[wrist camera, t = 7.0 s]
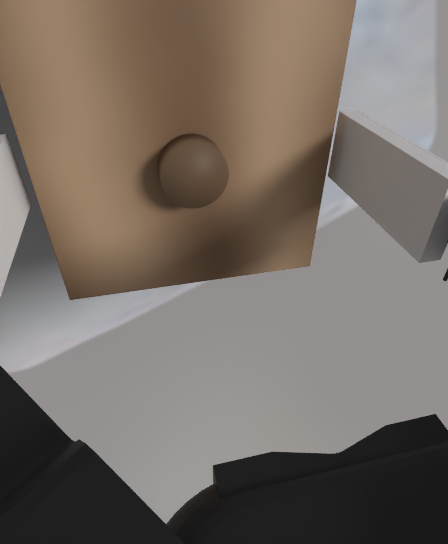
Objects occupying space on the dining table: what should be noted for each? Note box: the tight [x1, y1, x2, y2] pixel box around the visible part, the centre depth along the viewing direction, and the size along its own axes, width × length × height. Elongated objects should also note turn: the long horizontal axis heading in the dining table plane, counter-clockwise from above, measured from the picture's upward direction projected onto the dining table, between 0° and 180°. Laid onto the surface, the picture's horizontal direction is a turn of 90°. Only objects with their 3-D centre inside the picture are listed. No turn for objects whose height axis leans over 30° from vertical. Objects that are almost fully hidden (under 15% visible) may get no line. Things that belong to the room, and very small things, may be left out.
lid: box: [0, 0, 356, 300], centre depth 15 cm, size 11×11×5 cm
